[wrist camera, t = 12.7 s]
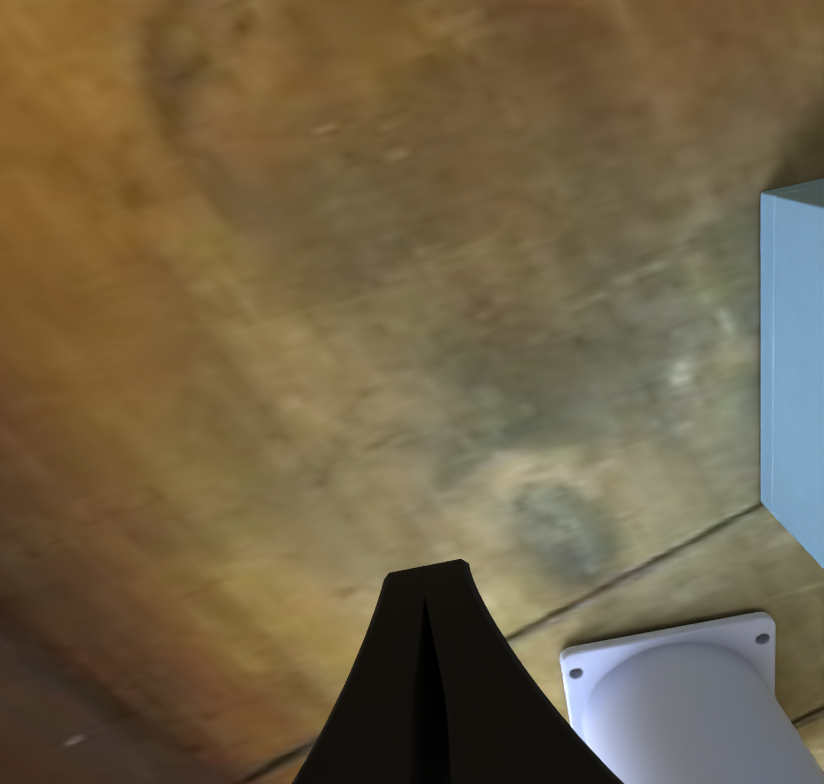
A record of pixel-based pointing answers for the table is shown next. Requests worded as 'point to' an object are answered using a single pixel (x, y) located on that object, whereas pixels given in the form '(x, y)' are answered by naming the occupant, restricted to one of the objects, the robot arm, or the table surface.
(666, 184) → the table surface
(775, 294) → the cooler
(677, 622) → the table surface
